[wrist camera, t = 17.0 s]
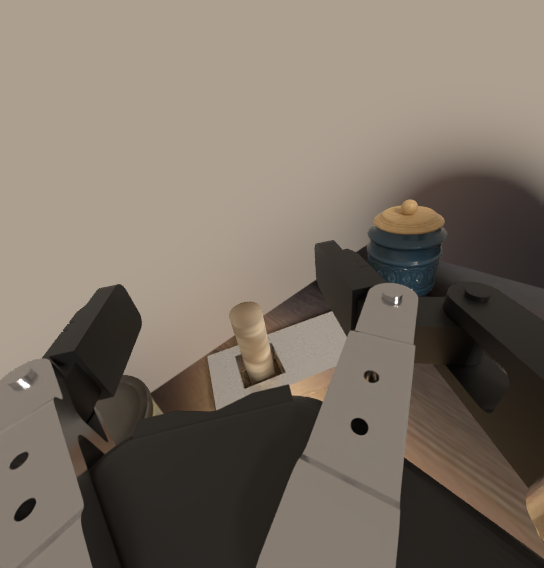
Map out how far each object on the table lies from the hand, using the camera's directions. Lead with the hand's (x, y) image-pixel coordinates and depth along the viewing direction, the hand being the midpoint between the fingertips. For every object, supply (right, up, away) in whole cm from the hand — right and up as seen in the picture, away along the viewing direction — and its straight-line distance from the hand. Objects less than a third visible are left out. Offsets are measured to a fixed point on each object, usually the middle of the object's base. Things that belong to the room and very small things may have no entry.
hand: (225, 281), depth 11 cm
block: (+6, -13, +29) cm, 33 cm away
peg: (+1, -15, +28) cm, 32 cm away
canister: (+28, 0, +43) cm, 51 cm away
